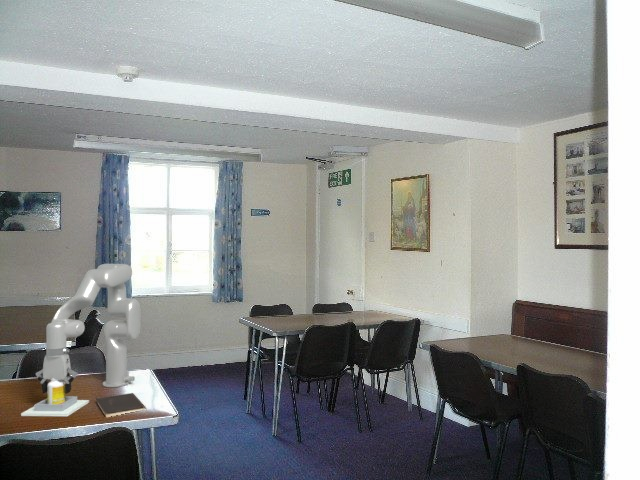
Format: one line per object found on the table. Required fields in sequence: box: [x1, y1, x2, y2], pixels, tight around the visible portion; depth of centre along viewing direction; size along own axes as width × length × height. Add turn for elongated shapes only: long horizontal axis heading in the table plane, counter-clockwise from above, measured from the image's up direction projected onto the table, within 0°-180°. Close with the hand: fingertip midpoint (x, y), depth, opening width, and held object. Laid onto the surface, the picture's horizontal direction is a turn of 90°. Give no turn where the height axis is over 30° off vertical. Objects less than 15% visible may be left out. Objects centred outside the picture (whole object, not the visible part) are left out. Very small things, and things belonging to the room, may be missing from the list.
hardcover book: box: [96, 392, 147, 418], centre depth 218 cm, size 16×23×2 cm
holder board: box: [20, 395, 90, 417], centre depth 215 cm, size 19×18×4 cm
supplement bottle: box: [46, 378, 66, 404], centre depth 216 cm, size 7×7×13 cm
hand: (56, 392), depth 215 cm, fingers open, 9 cm apart
